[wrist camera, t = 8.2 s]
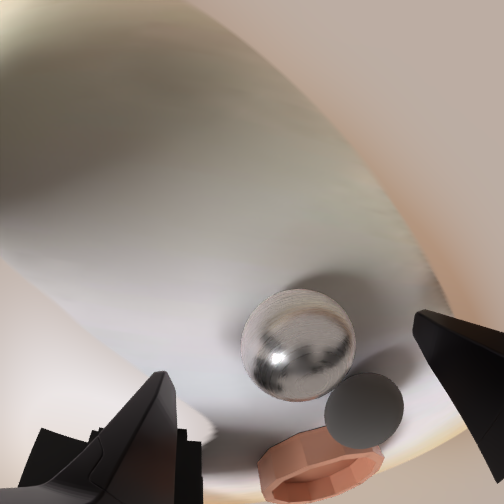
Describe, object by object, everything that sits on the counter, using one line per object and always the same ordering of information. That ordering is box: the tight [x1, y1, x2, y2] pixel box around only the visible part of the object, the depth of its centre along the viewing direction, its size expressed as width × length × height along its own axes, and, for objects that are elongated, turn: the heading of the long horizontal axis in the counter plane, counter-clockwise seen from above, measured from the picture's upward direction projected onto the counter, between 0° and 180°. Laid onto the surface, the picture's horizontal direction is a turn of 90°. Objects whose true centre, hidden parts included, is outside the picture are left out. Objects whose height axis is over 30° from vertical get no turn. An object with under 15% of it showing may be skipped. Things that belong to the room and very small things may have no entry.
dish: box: [257, 426, 384, 504], centre depth 15 cm, size 8×8×2 cm
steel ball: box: [241, 289, 356, 402], centre depth 9 cm, size 4×4×4 cm
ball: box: [324, 373, 404, 449], centre depth 11 cm, size 4×4×4 cm
